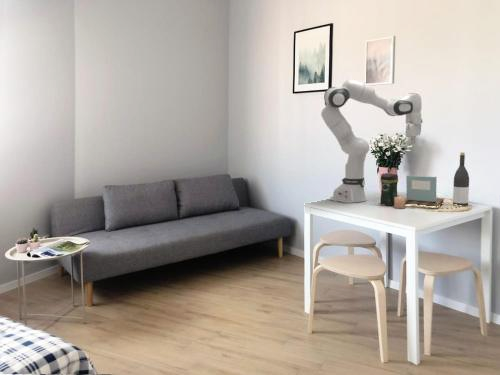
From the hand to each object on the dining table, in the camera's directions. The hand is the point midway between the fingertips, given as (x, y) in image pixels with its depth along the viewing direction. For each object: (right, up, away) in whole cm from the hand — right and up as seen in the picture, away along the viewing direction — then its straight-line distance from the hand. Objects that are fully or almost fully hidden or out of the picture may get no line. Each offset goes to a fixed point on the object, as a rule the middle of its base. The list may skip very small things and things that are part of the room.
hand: (412, 143), depth 281 cm
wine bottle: (+22, -37, -15) cm, 45 cm away
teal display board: (-2, -27, -19) cm, 33 cm away
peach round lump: (-14, -38, -18) cm, 44 cm away
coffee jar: (-17, -37, -8) cm, 41 cm away
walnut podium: (+2, -37, -13) cm, 39 cm away
